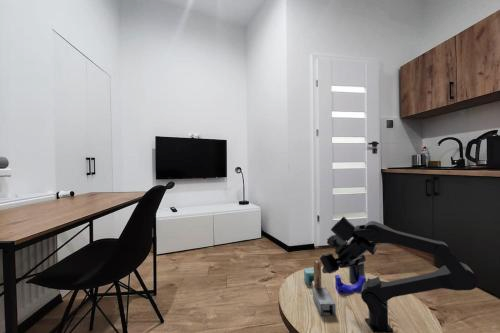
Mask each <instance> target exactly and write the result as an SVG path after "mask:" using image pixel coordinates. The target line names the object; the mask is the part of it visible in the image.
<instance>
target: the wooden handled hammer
mask: <svg viewBox="0 0 500 333" xmlns="http://www.w3.org/2000/svg"><path fill="white" fill-rule="evenodd" d="M313 269H314V281H312V284H311V288H312V289H313V288H323V287H322V262H321V260H320V259H316V260H315V259H314V260H313ZM323 310H330V305H323Z"/></svg>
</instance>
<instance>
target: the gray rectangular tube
mask: <svg viewBox="0 0 500 333" xmlns="http://www.w3.org/2000/svg"><path fill="white" fill-rule="evenodd" d="M312 299H313V301H314V303H315V306H316V308H317V311H318V313H319V315H320V316H321V317H323V316H324V317H326V316H327V317H328V316H332V317H333V316H336V315H337V314H336V313H337V312H336V309H337V308H336V302H335V301H334V299H333V297H332V296H331V293H330V292H329V291H328V289H327V287H322V288H312ZM323 305H330V310H323Z"/></svg>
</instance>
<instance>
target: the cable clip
mask: <svg viewBox="0 0 500 333" xmlns="http://www.w3.org/2000/svg"><path fill="white" fill-rule="evenodd" d="M334 278H335V280H334V281H335V290H336V291H337V293H338V294H354V292H357V293H358V292H359V293H361V292H362V286H363V284H364V282H366V281H367V278H366V276H365V277H364V276H363V275H360V277H359V280H358V281H357V282H356V283H355V284H354V283H352V284H345V283H343V282H342V278H341V276H340V275H339V274H335V275H334Z"/></svg>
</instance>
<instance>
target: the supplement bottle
mask: <svg viewBox="0 0 500 333" xmlns="http://www.w3.org/2000/svg"><path fill="white" fill-rule="evenodd" d="M365 267H366V265H365V262H364V263H362V264H359V265H356V266H350V267H348V276H349V277H348V279H349V281H350V282H351V283H352V284H355V283H356V282H357V281H358V280H359V277H360V275H363V276H364V277H365V278H366V268H365Z"/></svg>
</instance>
